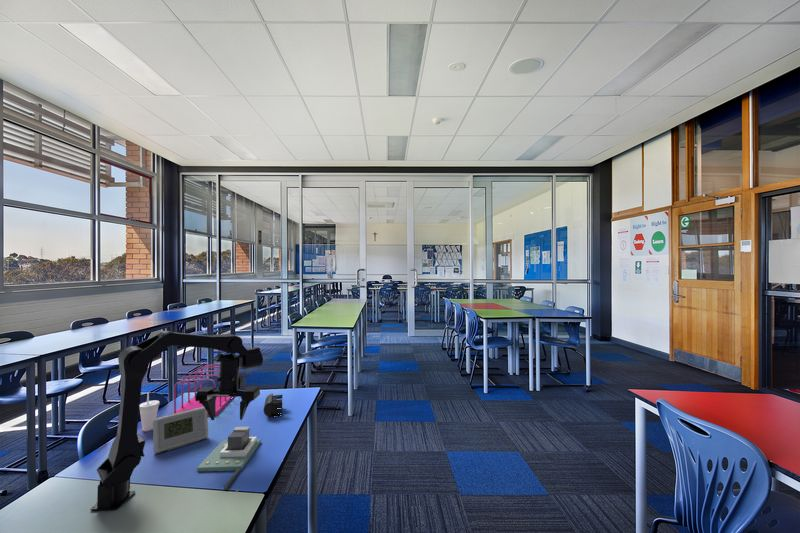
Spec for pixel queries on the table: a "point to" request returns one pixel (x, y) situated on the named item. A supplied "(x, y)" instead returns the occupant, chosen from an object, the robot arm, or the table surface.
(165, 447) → the digital clock
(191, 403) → the file sorter
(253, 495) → the table surface
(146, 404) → the smoothie
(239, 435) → the plug
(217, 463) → the header board
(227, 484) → the lead
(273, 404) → the power adapter
